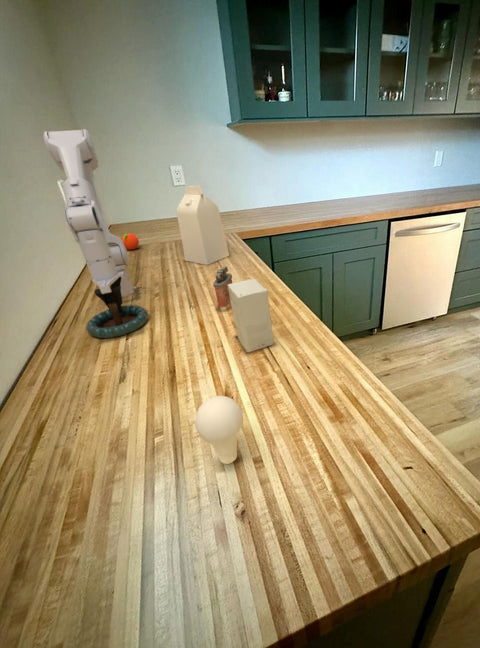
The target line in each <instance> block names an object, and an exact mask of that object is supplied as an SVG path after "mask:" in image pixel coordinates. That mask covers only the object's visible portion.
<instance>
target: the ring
mask: <svg viewBox="0 0 480 648" xmlns="http://www.w3.org/2000/svg"><path fill="white" fill-rule="evenodd" d="M121 306H122V313H119V314H120V316H121V317H123V316H130V315H137V317H136V318H135V319H133V320H131V321H130V322H127V323H125V324H122V325H119V326H114V327H106V328H102V327H100V326H101V324H102V323H103V322H105V321H108V320H112V319H113V316H112V313H111V311H110V310H109V309H106V310H103V311H101V312H99V313H97V314H95V315H94V316H93V317H91V318H90V319H89V320H88V321H87V323H86V328H85V330H86V332H87V333H88V334H89V335H90V336H92V337H95V338H98V339H109V338H110V339H111V338H112V339H113V338H117V337H121V336H125V335H128V334H130V333H132V332H135V331H136V330H139V329H138V328H142V327H143V326H144V325H145V324H146V323H147V321H148V320H149V312H148V310H147V309H146V308H144V307H143V306H139V305H134V304H132V305H131V304H129V305H121Z"/></svg>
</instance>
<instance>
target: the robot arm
mask: <svg viewBox="0 0 480 648" xmlns="http://www.w3.org/2000/svg"><path fill="white" fill-rule="evenodd" d="M42 137H43V140H44V143H45V144H44V145H45V146H46V148H47V151H48V153H49V155H50V157H51V158H52V159H53V161H54V163H55V164H56V166H57V167H58V168H59V169H60V171H63V172H64V173H65V176H66V179H65V180H64V181H63V183H62V188H63V193H64V199H65V203H66V204H65V205H66V209H67V210H66V209H65V210H64V212H63V213H64V218H65V222H66V224H67V226H68V228H69V230H70V232H71V233H72V235H73V238H74V241H75V242H76V243H78V245H79V248H80V250H81V253H82V255H83V258H84V260H85V263H86V266H87V269H88V271H89V273H90V276H91V281H92V283H93V284H95V285H96V286H97V287H98V288H96V289H94V294H95V296H96V297H98V298H99V299H100V300H101V301H102V302H103V303H104V304H105V306H106V307H107V308H108V310H110V308H109V306H108V304H109V303H111V302H115V303H116V306H117V308H118V311H119V313H122V306H123V298H126V297H129V296H131V295H132V294H134V293H135V289H137V286H133V283H132V279H131V277H130V273H129V271H128V268H127V266H129V265H130V258H129V254H128V251H127V249H126V248H125V246H124V243H123V240H121V238H122V237H119V236H117V235H115V234H112V233H111V232H110V229H109V226H108V222H107V219H106V216H105V213H104V210H103V207H102V202H101V200H100V197H99V193H98V190H97V187H96V183H95V180H94V179H95V178H94V177H95V176H94V171H95V170H96V169H98V168H99V167H100V166H99V159H98V156H97V153H96V149H95V145H94V142H93V139H92V136H91V134H90V132H89V131H88V130H87V129H86V128H82V129H75V130H74V129H71V130H57V131H56V130H53V131H49V130H45V131H44V133H43V135H42Z"/></svg>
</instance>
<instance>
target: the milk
mask: <svg viewBox="0 0 480 648" xmlns="http://www.w3.org/2000/svg"><path fill="white" fill-rule="evenodd" d="M184 188H185V189H184V196H183V197H182V199H181V200H180V202H179V203H178V206H177V207H176V217H177V222H178V223H177V224H178V228H179V233H180V239H181V245H182V250H183V255H184V261H185V262H190V263H194V264H195V263H196V264H200V265H201V264H202V265H206V266H209V265H211V264H213V263H216V262H217V261H218V262H219V261H220V260H222V259H225V258H227V257H229V256H230V253H229V247H228V245H227V240H226V235H225V232H224V226H223V222H222V217H221V213H220V210H219V206H218V205H217V204H216V203H215V202H214V201H213V200H211V198H209V197H208V196H207V195H206V194H205V193H204V191H203V190H202V187H201V185H185V187H184Z"/></svg>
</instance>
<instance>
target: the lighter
mask: <svg viewBox="0 0 480 648" xmlns="http://www.w3.org/2000/svg"><path fill="white" fill-rule="evenodd" d="M228 272H229V268H228V266H227V265H226V266H223V267H222V268H220V269H217V270H216V273H215V274H214V277H215V279H214V281H213V283H212V284H213V287H214V290H215V295H216V301H217V306H218V307H219V308H220V307H221V308H225V307H226V306H228V305H229V304H231V301H230V296H229V290H228V284H231V283H233V279H232V278H233V275H232V273H228Z"/></svg>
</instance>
